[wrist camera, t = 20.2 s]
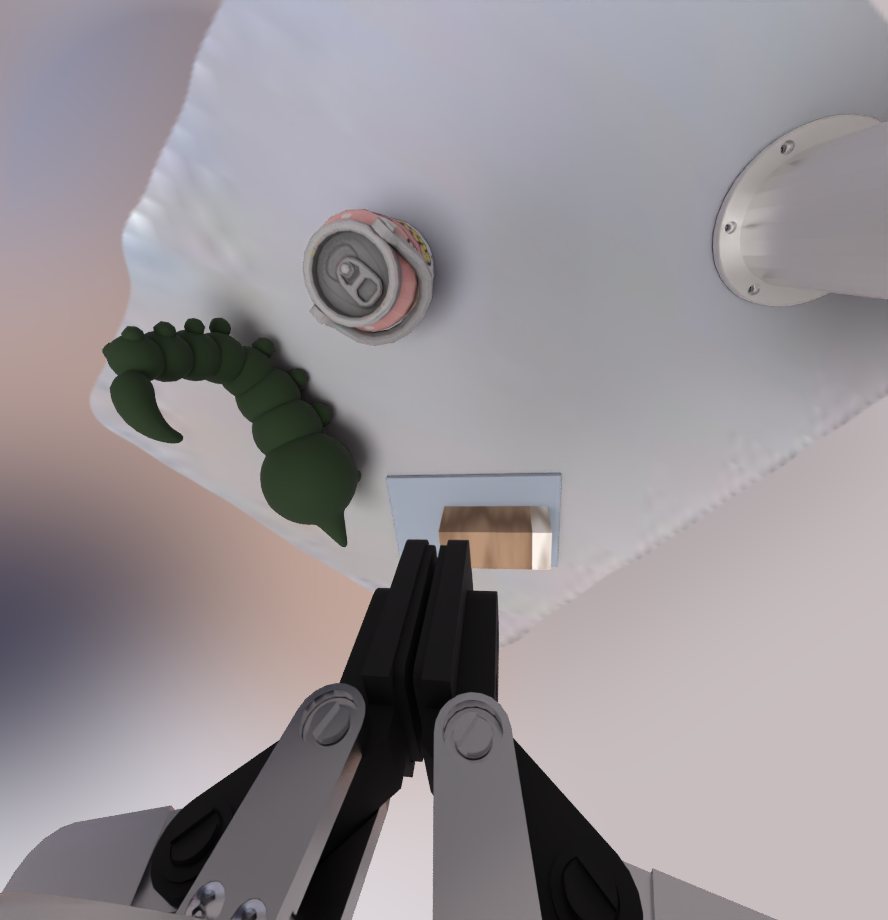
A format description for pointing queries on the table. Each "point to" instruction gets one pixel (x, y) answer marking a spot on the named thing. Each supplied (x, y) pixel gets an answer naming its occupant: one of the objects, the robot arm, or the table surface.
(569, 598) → the table surface
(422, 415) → the table surface
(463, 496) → the rubber mat
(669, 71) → the table surface
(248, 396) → the toy figurine
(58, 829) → the robot arm
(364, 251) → the beverage can
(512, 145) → the table surface
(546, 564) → the brown tall block
